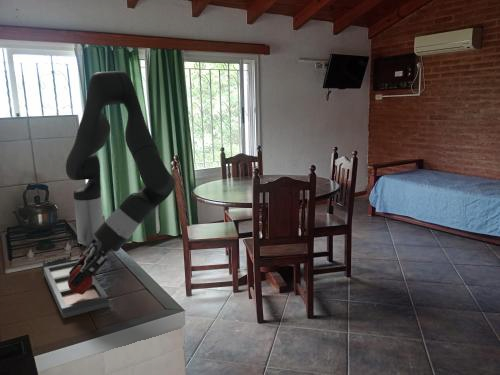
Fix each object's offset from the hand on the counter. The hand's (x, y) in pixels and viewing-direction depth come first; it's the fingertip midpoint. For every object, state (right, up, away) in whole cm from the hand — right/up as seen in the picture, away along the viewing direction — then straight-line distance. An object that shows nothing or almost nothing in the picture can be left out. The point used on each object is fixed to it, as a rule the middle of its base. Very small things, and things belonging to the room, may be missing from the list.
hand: (72, 280), depth 104 cm
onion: (+2, -4, +2) cm, 5 cm away
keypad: (-4, -5, +10) cm, 12 cm away
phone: (-18, -1, +31) cm, 36 cm away
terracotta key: (+1, -5, +2) cm, 6 cm away
